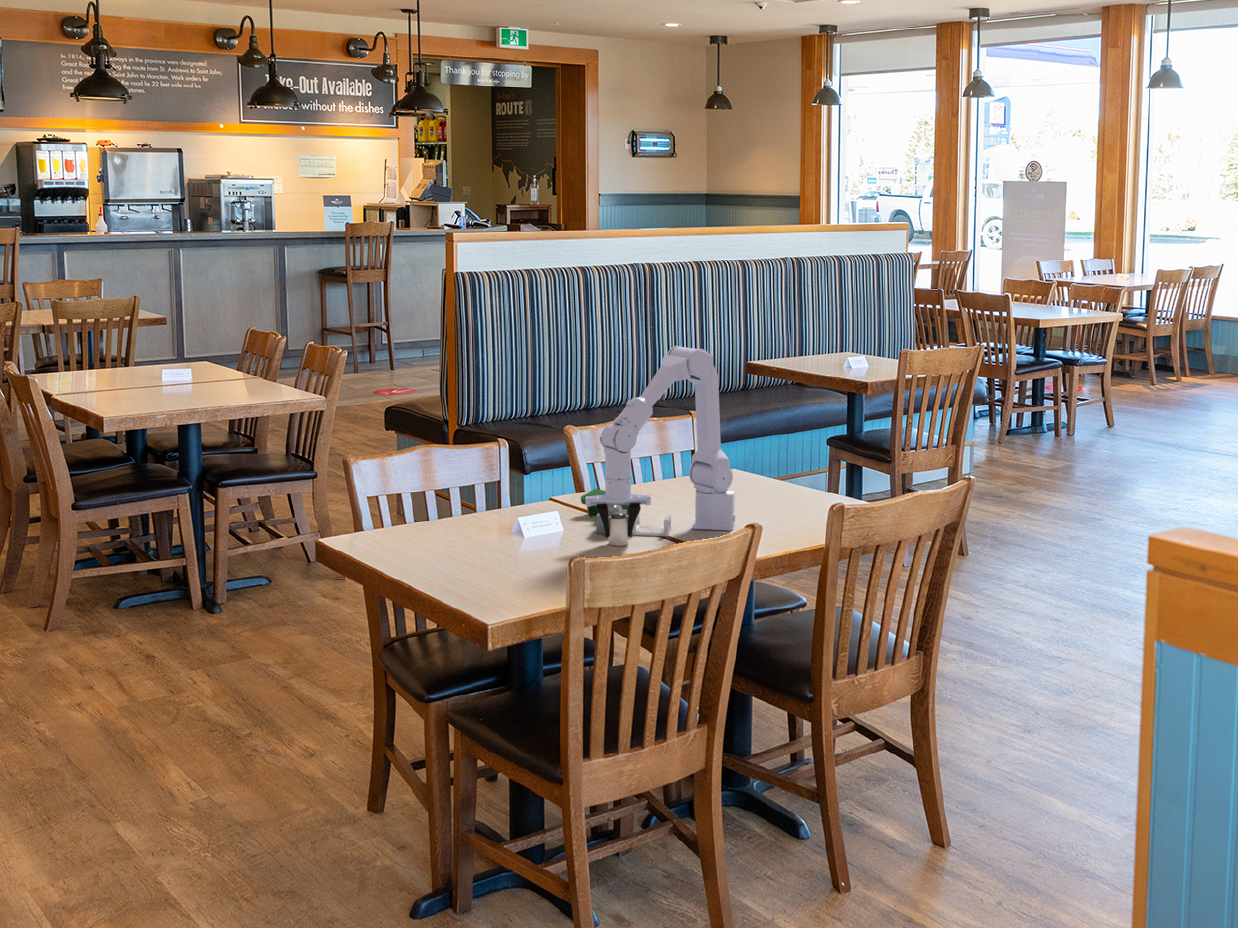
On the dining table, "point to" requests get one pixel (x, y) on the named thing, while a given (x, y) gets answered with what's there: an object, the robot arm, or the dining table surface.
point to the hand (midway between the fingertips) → (618, 536)
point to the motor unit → (636, 524)
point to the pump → (618, 529)
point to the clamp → (593, 509)
